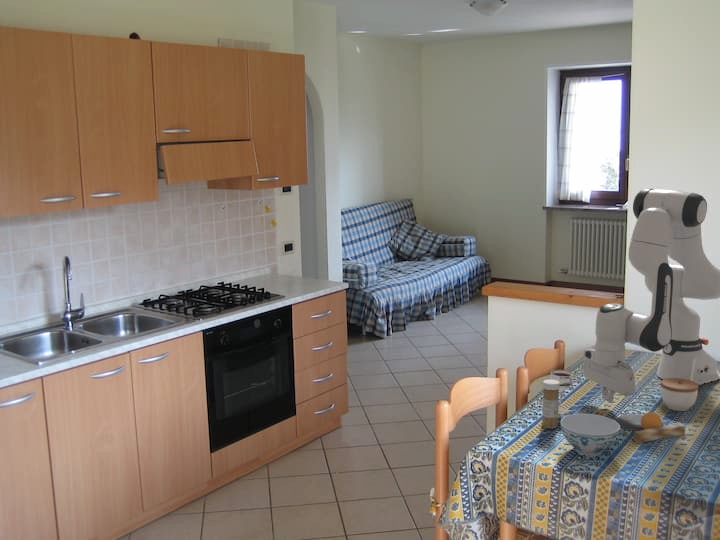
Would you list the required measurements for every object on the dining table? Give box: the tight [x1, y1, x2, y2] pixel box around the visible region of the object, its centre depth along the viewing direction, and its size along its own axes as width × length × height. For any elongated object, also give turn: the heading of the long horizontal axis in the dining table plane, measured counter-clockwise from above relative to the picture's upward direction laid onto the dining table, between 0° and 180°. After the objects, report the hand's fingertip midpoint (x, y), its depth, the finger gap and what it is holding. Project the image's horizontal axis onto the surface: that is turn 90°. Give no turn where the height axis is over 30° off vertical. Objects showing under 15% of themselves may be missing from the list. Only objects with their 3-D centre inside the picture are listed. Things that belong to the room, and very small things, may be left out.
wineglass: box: [549, 369, 574, 415], centre depth 233 cm, size 7×7×12 cm
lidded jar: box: [659, 378, 700, 412], centre depth 236 cm, size 11×11×9 cm
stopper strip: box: [633, 422, 686, 444], centre depth 213 cm, size 16×2×2 cm, turn 111°
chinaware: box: [560, 413, 621, 457], centre depth 204 cm, size 15×15×8 cm
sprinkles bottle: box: [541, 378, 560, 429], centre depth 221 cm, size 5×5×14 cm
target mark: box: [614, 414, 664, 432], centre depth 224 cm, size 13×13×1 cm
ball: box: [641, 411, 663, 430], centre depth 217 cm, size 6×6×6 cm
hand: (607, 400), depth 237 cm, fingers closed
